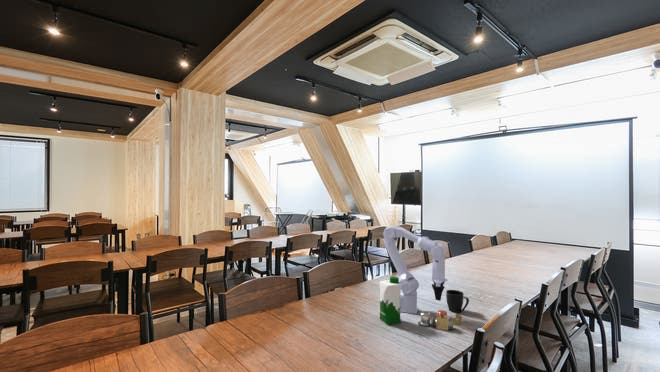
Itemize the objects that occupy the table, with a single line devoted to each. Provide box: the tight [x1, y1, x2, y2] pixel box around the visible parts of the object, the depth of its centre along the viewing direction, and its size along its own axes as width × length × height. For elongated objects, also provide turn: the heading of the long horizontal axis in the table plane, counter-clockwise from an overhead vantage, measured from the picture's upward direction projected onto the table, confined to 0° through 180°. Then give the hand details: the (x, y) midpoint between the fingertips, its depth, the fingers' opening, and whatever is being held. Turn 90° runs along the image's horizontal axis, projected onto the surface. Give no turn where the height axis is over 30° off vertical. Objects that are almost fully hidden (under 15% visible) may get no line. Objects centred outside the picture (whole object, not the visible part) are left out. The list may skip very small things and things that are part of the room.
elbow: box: [450, 313, 463, 326], centre depth 137 cm, size 4×2×4 cm, turn 88°
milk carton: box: [379, 276, 402, 326], centre depth 139 cm, size 9×9×20 cm
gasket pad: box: [417, 321, 432, 328], centre depth 136 cm, size 6×6×1 cm
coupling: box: [419, 310, 431, 327], centre depth 136 cm, size 4×4×5 cm
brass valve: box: [430, 309, 454, 331], centre depth 133 cm, size 9×5×7 cm, turn 68°
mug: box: [445, 289, 470, 314], centre depth 151 cm, size 8×12×10 cm
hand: (438, 297), depth 143 cm, fingers open, 7 cm apart
